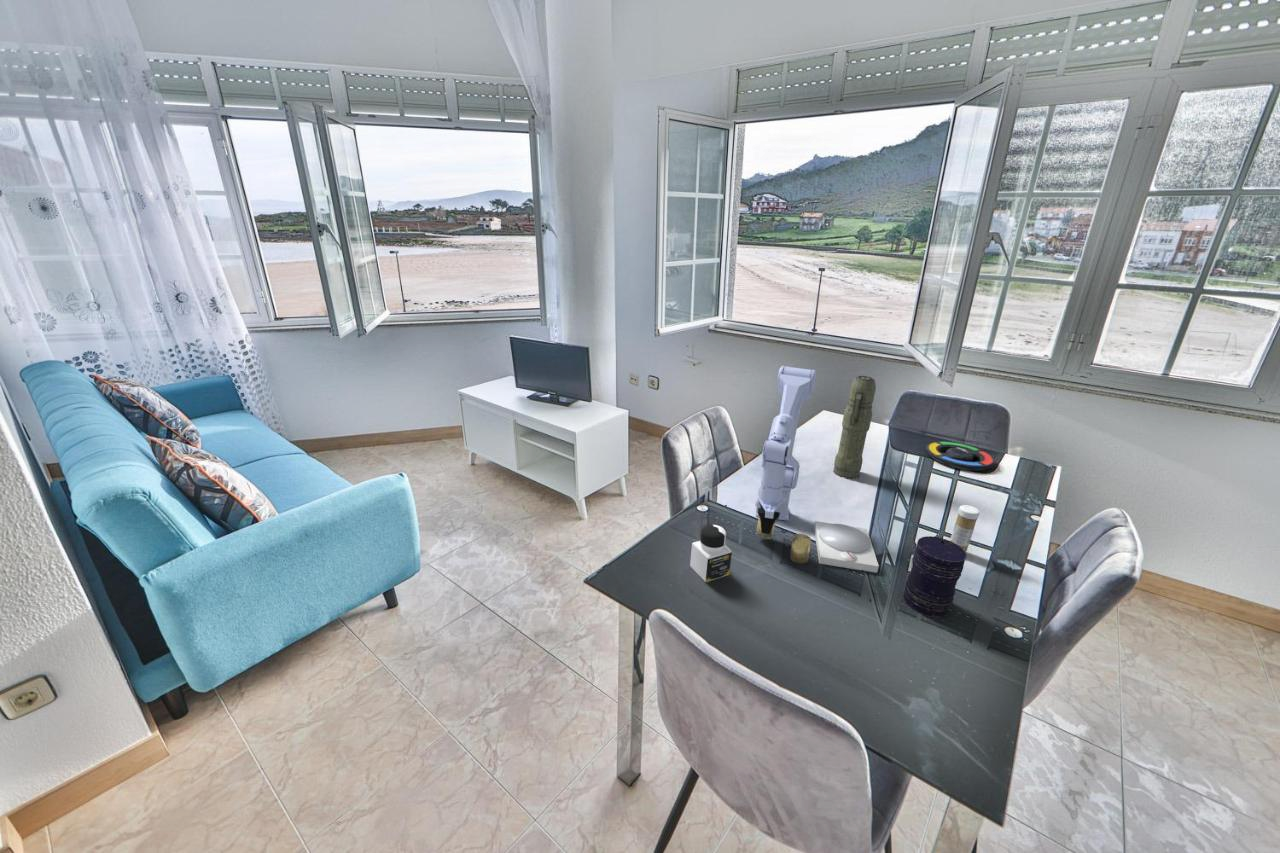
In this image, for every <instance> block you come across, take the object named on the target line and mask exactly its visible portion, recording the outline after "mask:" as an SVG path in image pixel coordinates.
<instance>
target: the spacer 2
mask: <svg viewBox="0 0 1280 853" xmlns="http://www.w3.org/2000/svg"><path fill="white" fill-rule="evenodd" d="M791 542H792V543H791V547H790V548H791V549H790V553H789V558H790V560H791V561H793V562H794V563H797V564H805V563H808V561H809V556H810V555H809V554H810V549H811V544H812V538H811V536H809V535H807V534H804V533H795V534H794V535H793V536H792V541H791Z"/></svg>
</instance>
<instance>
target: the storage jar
mask: <svg viewBox="0 0 1280 853" xmlns="http://www.w3.org/2000/svg"><path fill="white" fill-rule="evenodd" d="M912 556H913V557H912V558H911V564H912V566H911V569H910V572H909V574H908V575H907V579H906V581H905V584H904V591H903V594H902V599H903V601H904V604H906V605H907V606H908V607H909V608H910V609H912V611H913V612H914V611H915V612H916V613H918V614H920V615H923V616H926V617H930V618H944V617H946V616H947V615H948V614H949V613H950V608H951V606H952V604H953V602H954V600H955V599H954V597H955V593H956V586H957V583H958V581H959V579H960V578H961V577H962V572H963V569H964V568H965V567H964V566H965V562H966V558H967V552H965V551H964V550H963V549H962V548H961V547H960V546H958V545H957V544H955V543H953V542H951V541H950V540H948V539H946V538H943V537H939V536H927V535H926V536H922V537H920V538H919V539H918V540H917V542H916V547H915V549H914V551H913V555H912Z"/></svg>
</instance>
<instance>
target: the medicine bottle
mask: <svg viewBox="0 0 1280 853" xmlns="http://www.w3.org/2000/svg"><path fill="white" fill-rule="evenodd" d="M699 537H700V538H699V540H698V541H694V542H692V543H691V550H690V551H691V553H690V562H689V564H690V565H689V568H691V569H692V570H693V571H694V572H695V573H696V575H698V576H699V577H700V578H701V579H702V580H703V582H705V583H709V582H711V581H714V580H717V579H721V578H724V577H727V576H729V575H730V572H731V571H730V570H731V562H732V555H733V551H732V550H731V549H730V548H729V547H728V546H727V545H726V539H727V531H726V530H725V529H724V528H723V526H720V525H717V524H707V525H704V526H703V527H702V528H701V529H700V536H699Z"/></svg>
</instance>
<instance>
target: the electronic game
mask: <svg viewBox="0 0 1280 853" xmlns="http://www.w3.org/2000/svg"><path fill="white" fill-rule="evenodd" d="M939 450H947V451H945V452H943V451H939ZM925 452H926V454H927V455H928V456H930V457H931V458H932V459H933V460H934V459H935V460H936V461H935V460H934V461H935V462H937V461H938V462H937V463H939V462H940V463H939V464H941V463H942V464H941V465H943V464H944V466H946V467H950V468H952V467H953V469H956V468H957V469H958V470H961V469H962V471H968V470H970V471H969V472H979V470H980V471H984V470H989V469H991V468H993V467H994V465H995V462H996V460H995V458H994V457H993V456H992V455H991V454H989V453H988V452H987V451H984V450H982V449H980V448H978V447H975V446H972V445H968V444H965V443H960V442H954V441H944V440H942V441H939V440H938V441H932V442H930V443H928V444H927V445H926V447H925ZM976 458H977V459H976ZM974 459H976V460H978V459H979V460H980V461H979V460H978V461H973V460H974Z"/></svg>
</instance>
